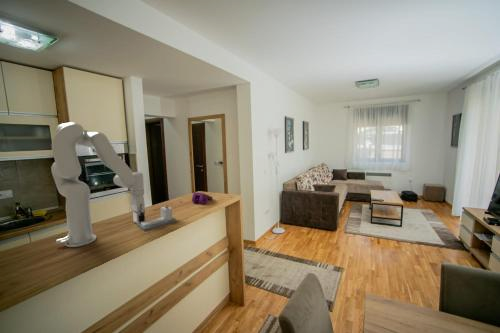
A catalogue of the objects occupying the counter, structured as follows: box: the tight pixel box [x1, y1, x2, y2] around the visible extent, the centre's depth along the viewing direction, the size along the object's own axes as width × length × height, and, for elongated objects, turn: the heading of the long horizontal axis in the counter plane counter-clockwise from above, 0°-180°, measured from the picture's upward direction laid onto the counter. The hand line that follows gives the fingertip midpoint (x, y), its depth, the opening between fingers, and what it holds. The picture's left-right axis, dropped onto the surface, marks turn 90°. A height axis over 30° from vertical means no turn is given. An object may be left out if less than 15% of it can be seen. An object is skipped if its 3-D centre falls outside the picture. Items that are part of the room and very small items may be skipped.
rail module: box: [132, 210, 146, 225], centre depth 136 cm, size 4×6×7 cm
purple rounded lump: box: [191, 191, 213, 206], centre depth 182 cm, size 10×8×18 cm
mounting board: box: [136, 205, 177, 232], centre depth 134 cm, size 20×10×10 cm, turn 138°
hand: (139, 219), depth 136 cm, fingers open, 8 cm apart
